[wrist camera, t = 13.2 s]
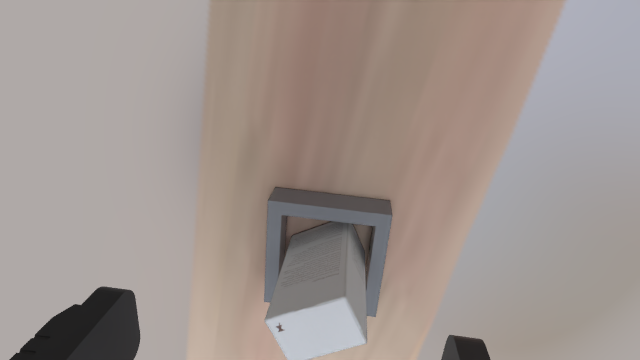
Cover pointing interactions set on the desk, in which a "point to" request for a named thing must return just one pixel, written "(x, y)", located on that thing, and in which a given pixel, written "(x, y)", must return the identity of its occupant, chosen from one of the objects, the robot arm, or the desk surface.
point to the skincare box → (320, 293)
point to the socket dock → (331, 210)
